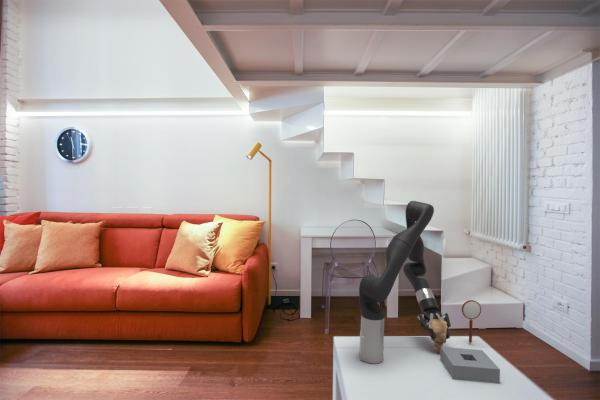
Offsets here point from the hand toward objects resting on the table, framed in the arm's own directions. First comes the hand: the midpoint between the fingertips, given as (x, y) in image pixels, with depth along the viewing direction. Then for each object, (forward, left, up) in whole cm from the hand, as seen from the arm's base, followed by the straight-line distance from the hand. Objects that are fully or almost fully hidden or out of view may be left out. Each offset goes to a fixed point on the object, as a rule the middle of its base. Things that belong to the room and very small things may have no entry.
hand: (441, 338), depth 132 cm
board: (+6, -11, -7) cm, 15 cm away
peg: (0, +2, -7) cm, 7 cm away
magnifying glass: (+16, +12, -7) cm, 21 cm away
